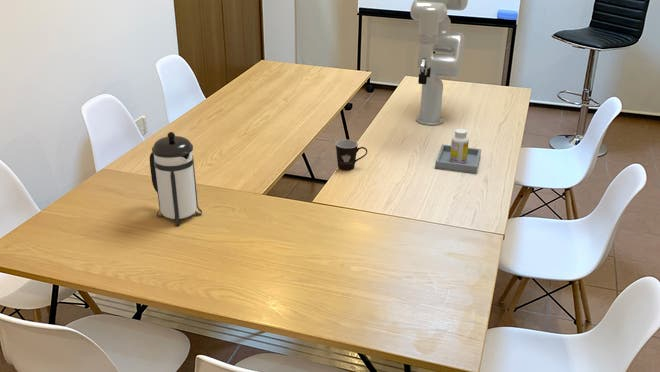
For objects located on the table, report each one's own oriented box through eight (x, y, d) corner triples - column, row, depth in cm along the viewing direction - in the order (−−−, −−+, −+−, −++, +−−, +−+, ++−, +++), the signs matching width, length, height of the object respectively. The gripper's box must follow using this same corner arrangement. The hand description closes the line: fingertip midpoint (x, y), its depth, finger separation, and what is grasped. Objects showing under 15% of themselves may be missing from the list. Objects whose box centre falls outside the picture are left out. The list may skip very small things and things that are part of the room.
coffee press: (205, 203, 224) (198, 122, 211) (198, 226, 210) (190, 141, 197) (155, 203, 224) (145, 122, 210) (145, 226, 209) (133, 141, 196)
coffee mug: (331, 169, 251) (331, 145, 246) (341, 161, 258) (341, 137, 253) (358, 175, 246) (359, 151, 242) (367, 167, 253) (368, 143, 248)
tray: (441, 151, 268) (441, 144, 267) (480, 155, 264) (481, 149, 263) (435, 168, 252) (435, 161, 251) (476, 173, 248) (477, 166, 247)
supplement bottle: (465, 157, 260) (469, 128, 255) (467, 164, 255) (470, 134, 249) (449, 157, 261) (452, 127, 255) (450, 163, 255) (453, 133, 249)
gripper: (421, 32, 262) (418, 73, 270) (414, 42, 247) (411, 85, 255) (440, 34, 260) (436, 75, 268) (433, 44, 245) (430, 87, 253)
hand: (424, 80), depth 261 cm, fingers open, 9 cm apart
